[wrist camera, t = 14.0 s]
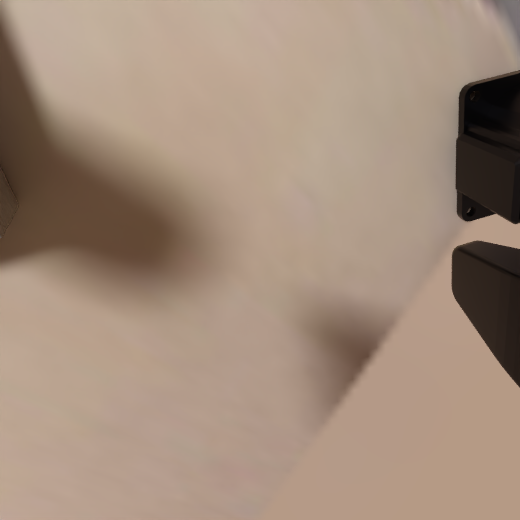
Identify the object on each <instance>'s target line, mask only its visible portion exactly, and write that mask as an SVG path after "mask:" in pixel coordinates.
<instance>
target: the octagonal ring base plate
mask: <svg viewBox="0 0 520 520" xmlns="http://www.w3.org/2000/svg"><path fill="white" fill-rule="evenodd" d="M18 206H19V204H18V202H17V200H16V198H15V196H14V194H13V191H12V189H11V187H10V185H9V183H8V181H7V179H6V177H5V175H4V173H3V171H2V168H1V166H0V238H2V236H3V234H4V232H5V231H6V229H7V227H8V225H9V223H10V221H11V219H12V218H13V216H14V214H15V212H16V210H17V208H18Z"/></svg>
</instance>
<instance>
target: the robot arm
mask: <svg viewBox="0 0 520 520" xmlns="http://www.w3.org/2000/svg"><path fill="white" fill-rule="evenodd" d="M473 91H475V95H474V98H473V99H472V100H470V94H471V93H472V92H473ZM456 189H457V214H458V216H459V217H460V218H462V219H463V220H465V221H473V220H476V219H480V218H483V217H486V216H490V215H493V214H498V215H500V216H501V217H503V218H505V219H506V220H508V221H510V222H512V223H513V224H518V223H520V70H519V71H515V72H511V73H507V74H503V75H499V76H495V77H491V78H487V79H484V80H480V81H476V82H472V83H469V84H467V85H465V86H464V87H463V88H462V90H461V92H460V95H459V127H458V138H457V140H456ZM470 207H471V210H470V211H469V212H468V213H466V212H467V210H468V209H469V208H470ZM452 291H453V295H454V297H455V299H456V301H457V302H458V304H459V305H460V307H461V308H462V310H463V311H464V312H465V314H466V315H467V317H468V318H469V320H470V321H471V323H472V324H473V326H474V327H475V328H476V330H477V331H478V333H479V334H480V335H481V337H482V339H483V340H484V341H485V343H486V344H487V346H488V347H489V349H490V350H491V352H492V353H493V355H494V356H495V357H496V359H497V360H498V361H499V363H500V364H501V366H502V367H503V368H504V369H505V371H506V372H507V373H508V374H509V375H510V377H511V378H512V379H513V380H514V381H515V383H516V384H517V385H518V386H519V387H520V249H517V248H512V247H507V246H502V245H497V244H493V243H488V242H483V241H473V242H470V243H466V244H463V245H460V246H457V247H456V248H455V249H454V250H453V253H452Z"/></svg>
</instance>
